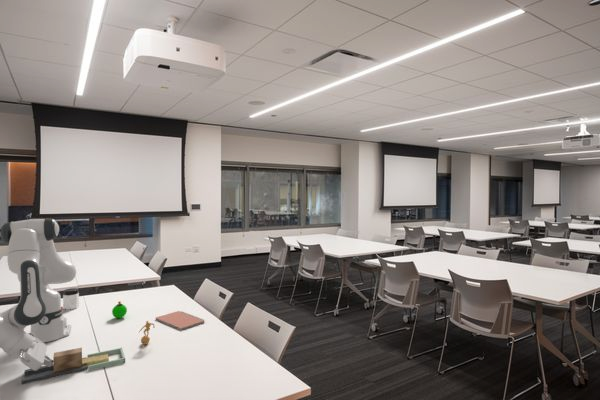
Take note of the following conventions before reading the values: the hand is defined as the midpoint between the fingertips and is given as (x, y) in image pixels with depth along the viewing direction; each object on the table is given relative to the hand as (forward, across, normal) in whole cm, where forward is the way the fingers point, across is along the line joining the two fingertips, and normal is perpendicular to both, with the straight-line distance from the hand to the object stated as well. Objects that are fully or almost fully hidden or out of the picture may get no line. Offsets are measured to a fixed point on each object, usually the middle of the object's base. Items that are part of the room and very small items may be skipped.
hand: (51, 364), depth 150 cm
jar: (+7, +99, -1) cm, 100 cm away
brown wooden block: (+6, 0, -2) cm, 7 cm away
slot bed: (+4, 0, +2) cm, 5 cm away
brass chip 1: (+12, 0, -7) cm, 14 cm away
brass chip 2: (+15, 0, -10) cm, 18 cm away
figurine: (+30, +12, -24) cm, 40 cm away
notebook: (+47, +37, -40) cm, 72 cm away
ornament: (+25, +62, -18) cm, 69 cm away
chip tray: (+17, 0, -11) cm, 20 cm away
